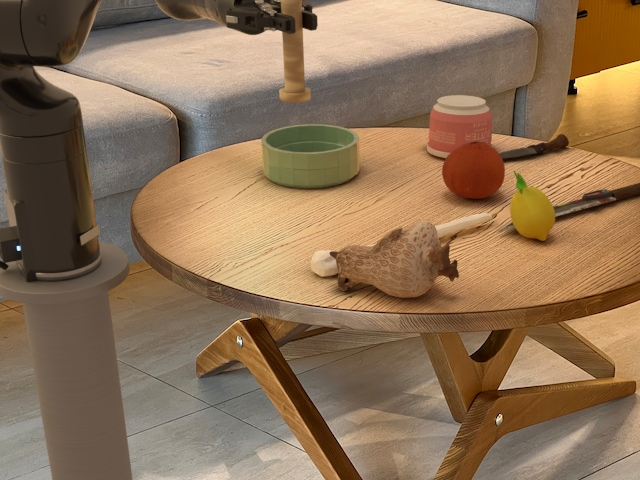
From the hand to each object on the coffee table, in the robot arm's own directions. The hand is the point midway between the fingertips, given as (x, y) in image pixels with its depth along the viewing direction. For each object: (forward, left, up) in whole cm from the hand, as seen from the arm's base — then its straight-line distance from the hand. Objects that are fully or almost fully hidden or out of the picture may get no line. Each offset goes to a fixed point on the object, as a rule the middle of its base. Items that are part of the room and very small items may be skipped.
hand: (303, 24), depth 147 cm
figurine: (0, -40, -19) cm, 44 cm away
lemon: (+19, -31, -24) cm, 44 cm away
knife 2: (+14, -26, -23) cm, 37 cm away
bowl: (+4, +8, -24) cm, 26 cm away
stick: (0, +3, -11) cm, 11 cm away
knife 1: (+37, +2, -23) cm, 44 cm away
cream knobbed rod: (+2, -24, -24) cm, 34 cm away
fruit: (+20, -12, -24) cm, 34 cm away
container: (+29, +6, -16) cm, 33 cm away
